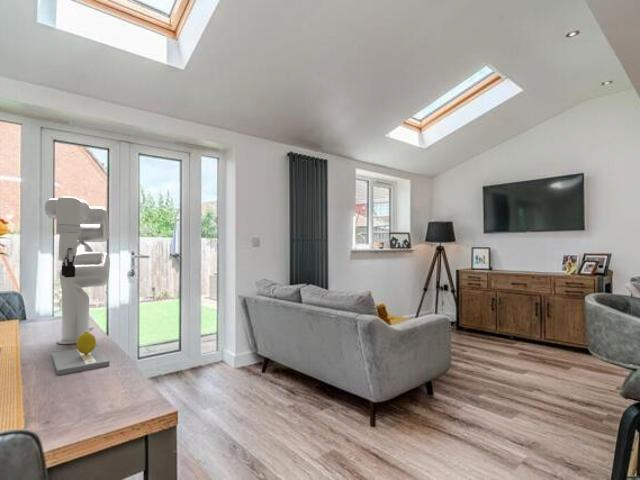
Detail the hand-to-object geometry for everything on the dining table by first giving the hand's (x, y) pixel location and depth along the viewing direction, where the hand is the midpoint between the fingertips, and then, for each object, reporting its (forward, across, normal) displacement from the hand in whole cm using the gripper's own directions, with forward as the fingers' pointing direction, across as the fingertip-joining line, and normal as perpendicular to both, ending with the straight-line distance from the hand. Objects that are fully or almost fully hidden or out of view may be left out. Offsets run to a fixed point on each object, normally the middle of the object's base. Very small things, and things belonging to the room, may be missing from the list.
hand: (68, 276), depth 135 cm
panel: (+28, +14, +2) cm, 32 cm away
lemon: (+27, +14, +4) cm, 31 cm away
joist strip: (+27, +14, +4) cm, 31 cm away
